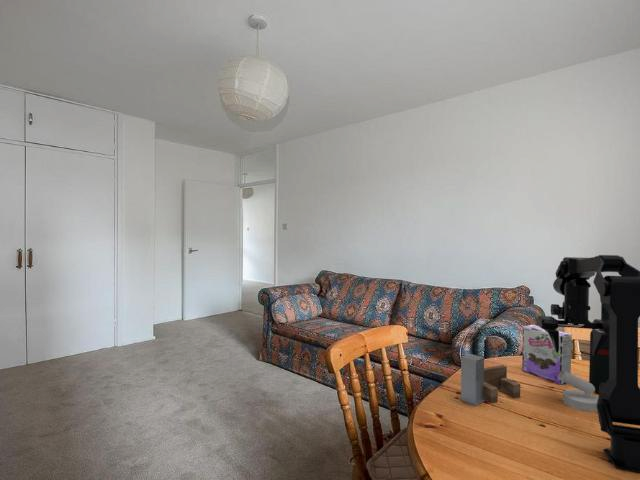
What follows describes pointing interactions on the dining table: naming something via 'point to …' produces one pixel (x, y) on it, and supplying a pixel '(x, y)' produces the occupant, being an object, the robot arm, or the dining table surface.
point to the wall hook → (579, 393)
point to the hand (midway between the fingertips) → (575, 354)
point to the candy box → (545, 353)
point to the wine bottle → (599, 359)
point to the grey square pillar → (472, 379)
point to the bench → (499, 384)
